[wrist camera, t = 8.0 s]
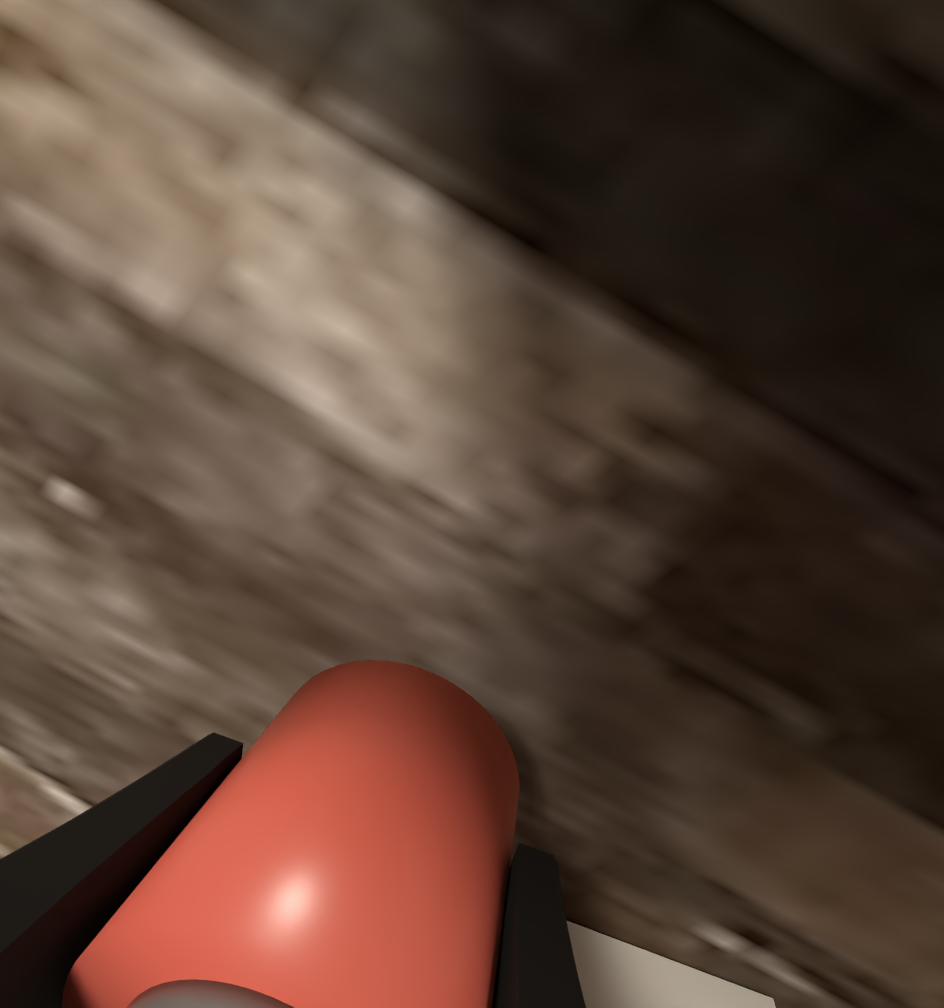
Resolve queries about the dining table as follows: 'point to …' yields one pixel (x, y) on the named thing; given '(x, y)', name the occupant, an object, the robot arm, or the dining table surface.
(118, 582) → the dining table surface
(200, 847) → the cap
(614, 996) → the panel
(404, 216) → the dining table surface
